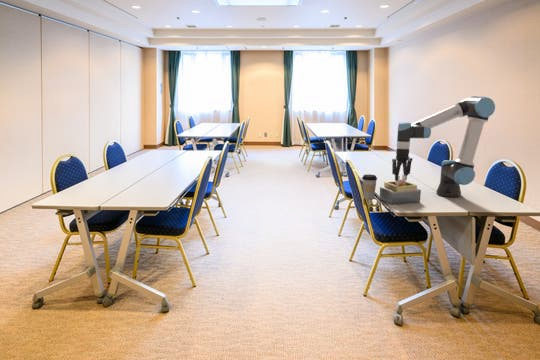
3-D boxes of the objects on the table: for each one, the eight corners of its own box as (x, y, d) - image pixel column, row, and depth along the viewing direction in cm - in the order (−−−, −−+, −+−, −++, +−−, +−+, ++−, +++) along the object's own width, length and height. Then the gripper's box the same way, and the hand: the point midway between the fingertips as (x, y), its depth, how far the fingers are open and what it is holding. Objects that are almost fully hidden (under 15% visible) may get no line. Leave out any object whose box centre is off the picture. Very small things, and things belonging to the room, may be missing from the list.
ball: (401, 185, 273) (401, 178, 272) (404, 186, 269) (405, 180, 268) (395, 185, 272) (396, 179, 271) (399, 186, 268) (399, 180, 267)
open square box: (406, 196, 282) (407, 180, 280) (419, 202, 269) (421, 185, 267) (379, 199, 276) (380, 182, 274) (391, 204, 263) (392, 187, 261)
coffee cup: (373, 201, 271) (375, 177, 268) (359, 199, 276) (360, 176, 272) (377, 198, 279) (379, 175, 276) (363, 196, 284) (364, 173, 280)
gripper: (411, 146, 272) (408, 183, 277) (387, 147, 267) (385, 185, 272) (418, 148, 265) (415, 186, 270) (394, 149, 260) (391, 187, 265)
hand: (400, 185), depth 271 cm, fingers closed on ball, 4 cm apart
